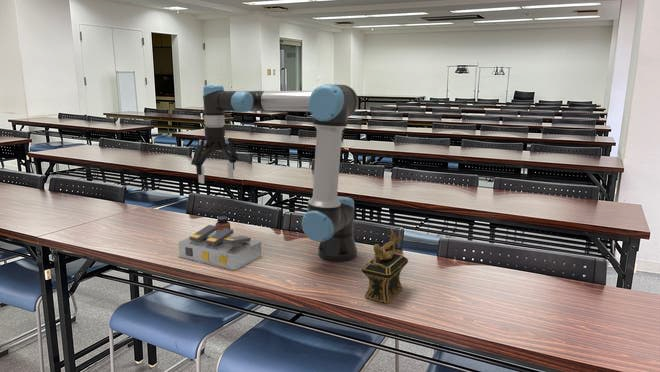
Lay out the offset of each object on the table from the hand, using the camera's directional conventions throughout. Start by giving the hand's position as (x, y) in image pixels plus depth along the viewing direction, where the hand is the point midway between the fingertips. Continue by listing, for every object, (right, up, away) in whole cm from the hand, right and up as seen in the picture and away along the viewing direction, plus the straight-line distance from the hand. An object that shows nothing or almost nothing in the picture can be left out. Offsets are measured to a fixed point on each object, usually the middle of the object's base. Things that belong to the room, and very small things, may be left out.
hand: (216, 180), depth 183 cm
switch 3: (+10, -22, -12) cm, 27 cm away
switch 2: (+3, -21, -8) cm, 23 cm away
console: (+3, -29, -7) cm, 30 cm away
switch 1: (-4, -20, -5) cm, 21 cm away
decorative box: (+63, -36, -33) cm, 80 cm away
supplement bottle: (+1, -26, +7) cm, 27 cm away
